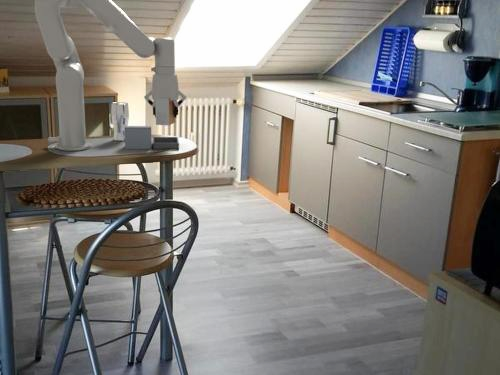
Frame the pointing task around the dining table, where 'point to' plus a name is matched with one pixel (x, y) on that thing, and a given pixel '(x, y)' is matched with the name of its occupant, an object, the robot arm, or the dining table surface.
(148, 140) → the grey rectangular block
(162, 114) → the small box
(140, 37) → the robot arm
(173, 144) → the tray
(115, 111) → the beer glass
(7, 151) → the dining table surface
